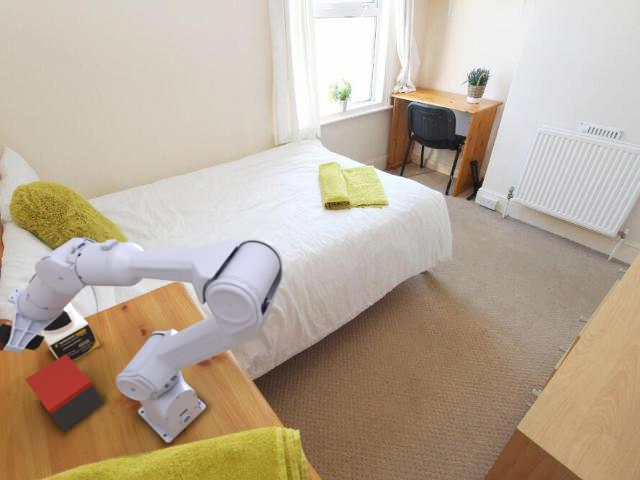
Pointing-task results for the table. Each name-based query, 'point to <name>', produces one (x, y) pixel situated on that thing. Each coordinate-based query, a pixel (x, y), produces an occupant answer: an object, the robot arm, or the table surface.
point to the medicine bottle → (69, 335)
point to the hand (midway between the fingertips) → (24, 324)
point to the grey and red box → (65, 392)
